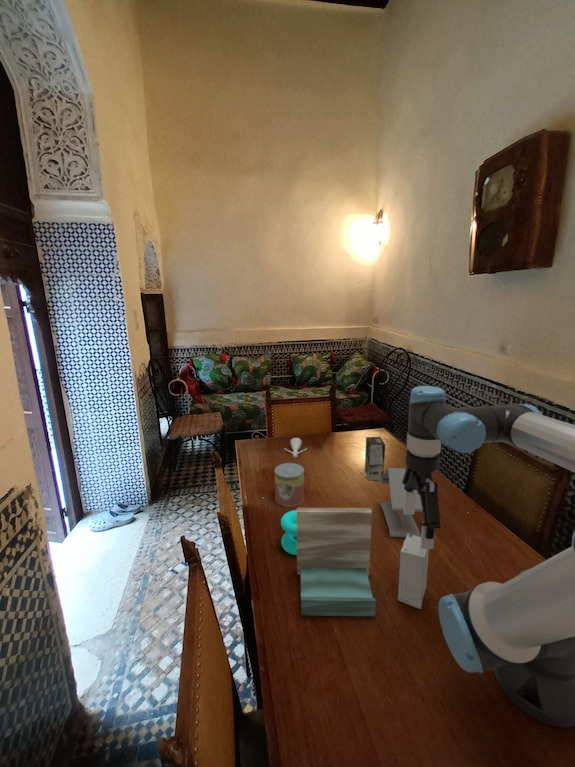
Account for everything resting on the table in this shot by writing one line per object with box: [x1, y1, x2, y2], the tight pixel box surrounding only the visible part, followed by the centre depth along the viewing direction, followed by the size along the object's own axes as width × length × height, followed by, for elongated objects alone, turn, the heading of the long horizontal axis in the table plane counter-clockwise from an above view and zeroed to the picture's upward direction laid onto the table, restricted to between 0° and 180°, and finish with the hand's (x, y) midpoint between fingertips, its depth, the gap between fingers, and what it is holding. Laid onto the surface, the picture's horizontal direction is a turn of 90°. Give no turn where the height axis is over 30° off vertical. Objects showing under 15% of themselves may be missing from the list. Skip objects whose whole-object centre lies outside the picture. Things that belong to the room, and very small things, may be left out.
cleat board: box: [296, 507, 377, 617], centre depth 92 cm, size 15×20×20 cm
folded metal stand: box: [379, 467, 423, 538], centre depth 121 cm, size 18×10×20 cm, turn 176°
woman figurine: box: [284, 437, 308, 459], centre depth 180 cm, size 12×4×18 cm
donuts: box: [280, 509, 297, 556], centre depth 111 cm, size 10×10×10 cm
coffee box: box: [364, 436, 386, 481], centre depth 153 cm, size 9×6×16 cm
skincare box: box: [397, 534, 430, 610], centre depth 92 cm, size 8×6×15 cm
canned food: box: [274, 462, 305, 507], centre depth 137 cm, size 11×11×12 cm
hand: (417, 529), depth 90 cm, fingers open, 13 cm apart
